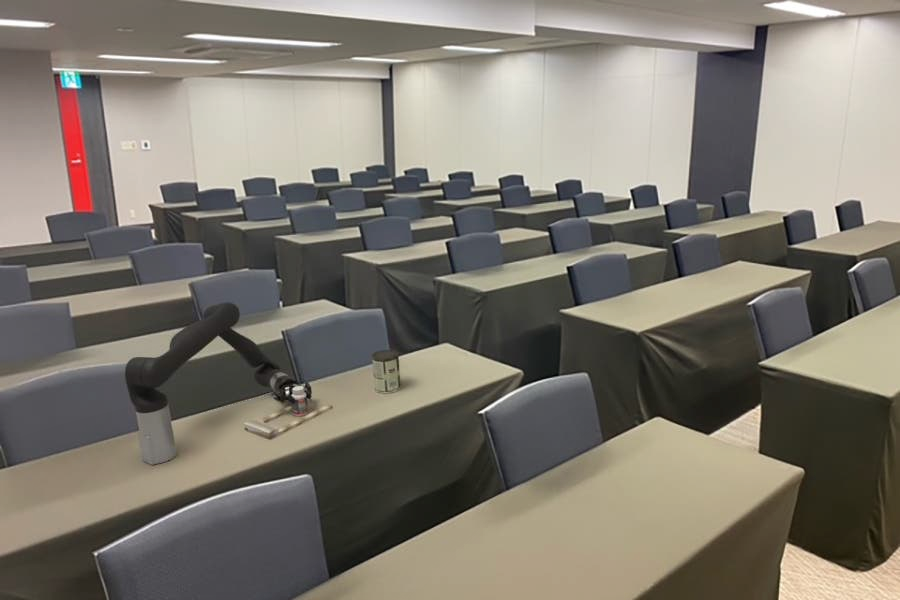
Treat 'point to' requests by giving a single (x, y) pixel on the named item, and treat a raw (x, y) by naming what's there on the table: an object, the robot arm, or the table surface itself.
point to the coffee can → (386, 371)
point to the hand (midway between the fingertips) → (301, 398)
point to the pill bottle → (299, 401)
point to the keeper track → (271, 431)
